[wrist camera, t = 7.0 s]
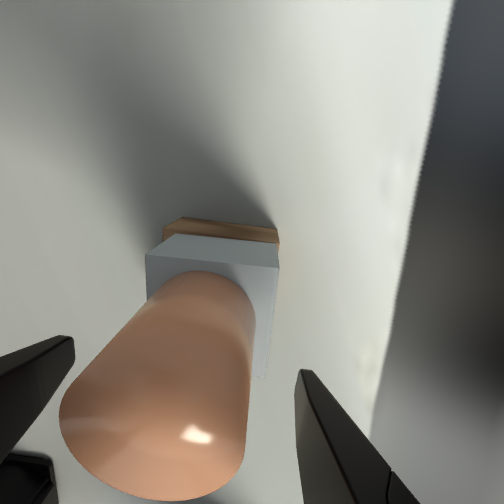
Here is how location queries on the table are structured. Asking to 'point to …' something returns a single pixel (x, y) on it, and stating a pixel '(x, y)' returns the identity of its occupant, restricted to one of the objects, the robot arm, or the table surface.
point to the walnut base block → (221, 230)
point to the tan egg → (168, 393)
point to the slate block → (230, 266)
